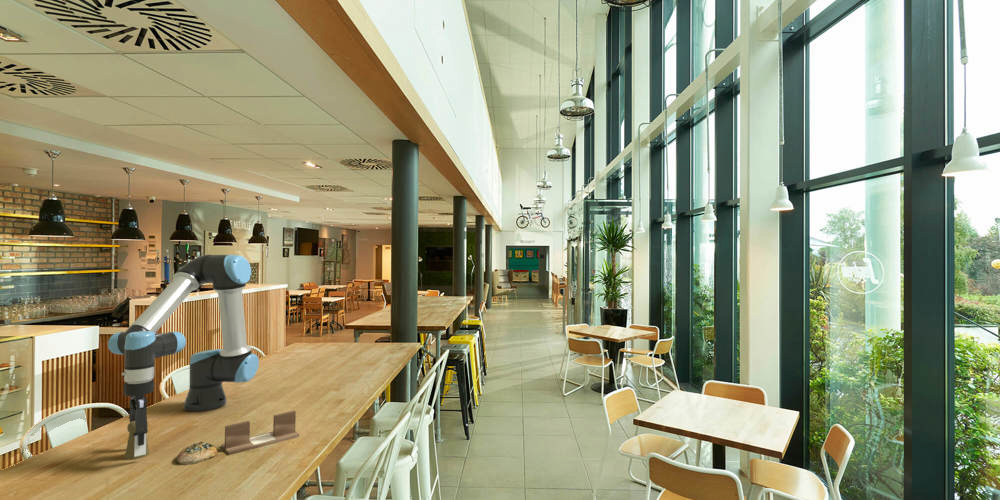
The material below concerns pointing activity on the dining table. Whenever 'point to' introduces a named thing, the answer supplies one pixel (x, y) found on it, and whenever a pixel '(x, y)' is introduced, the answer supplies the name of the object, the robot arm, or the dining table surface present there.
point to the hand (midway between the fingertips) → (137, 448)
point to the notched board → (241, 440)
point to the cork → (133, 443)
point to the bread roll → (196, 453)
